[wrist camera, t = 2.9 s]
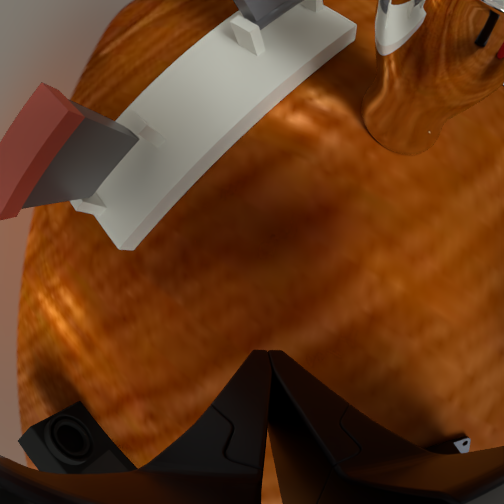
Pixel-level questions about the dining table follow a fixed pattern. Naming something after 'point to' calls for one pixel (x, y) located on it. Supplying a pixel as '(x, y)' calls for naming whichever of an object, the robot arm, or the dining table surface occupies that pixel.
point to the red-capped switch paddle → (57, 152)
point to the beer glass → (431, 67)
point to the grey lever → (264, 10)
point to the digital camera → (73, 445)
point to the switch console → (209, 110)
